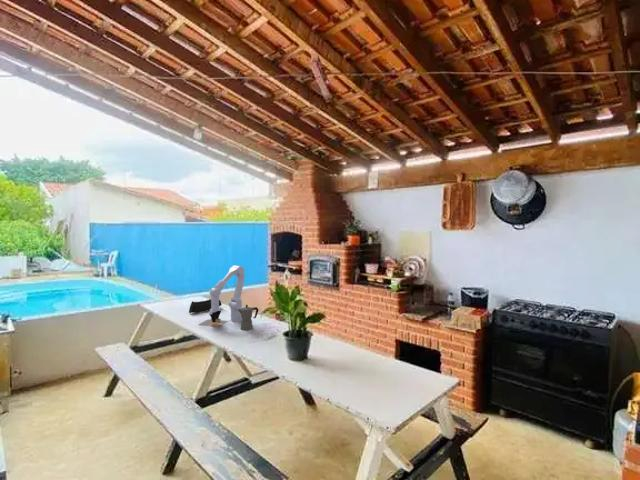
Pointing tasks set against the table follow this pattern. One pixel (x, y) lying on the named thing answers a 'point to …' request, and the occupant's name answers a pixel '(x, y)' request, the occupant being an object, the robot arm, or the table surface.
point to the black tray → (201, 306)
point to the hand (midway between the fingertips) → (215, 321)
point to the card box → (215, 321)
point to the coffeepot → (247, 317)
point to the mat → (207, 323)
